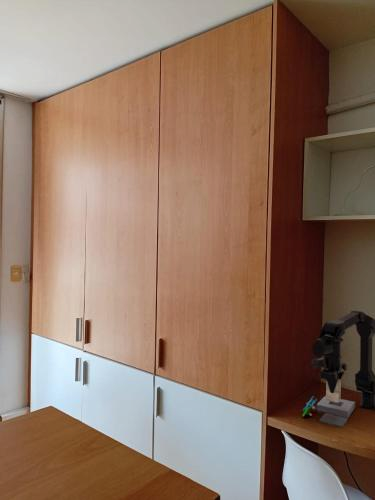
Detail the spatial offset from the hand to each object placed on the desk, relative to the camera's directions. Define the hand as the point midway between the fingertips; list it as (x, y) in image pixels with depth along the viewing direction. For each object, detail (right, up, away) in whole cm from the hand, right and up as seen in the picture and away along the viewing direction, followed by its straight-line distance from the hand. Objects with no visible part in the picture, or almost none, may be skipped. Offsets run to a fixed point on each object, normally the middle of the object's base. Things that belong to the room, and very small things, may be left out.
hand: (333, 391), depth 156 cm
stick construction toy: (-7, -12, +6) cm, 16 cm away
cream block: (0, -4, 0) cm, 4 cm away
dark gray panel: (0, -12, 0) cm, 12 cm away
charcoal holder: (+5, -12, +12) cm, 18 cm away
